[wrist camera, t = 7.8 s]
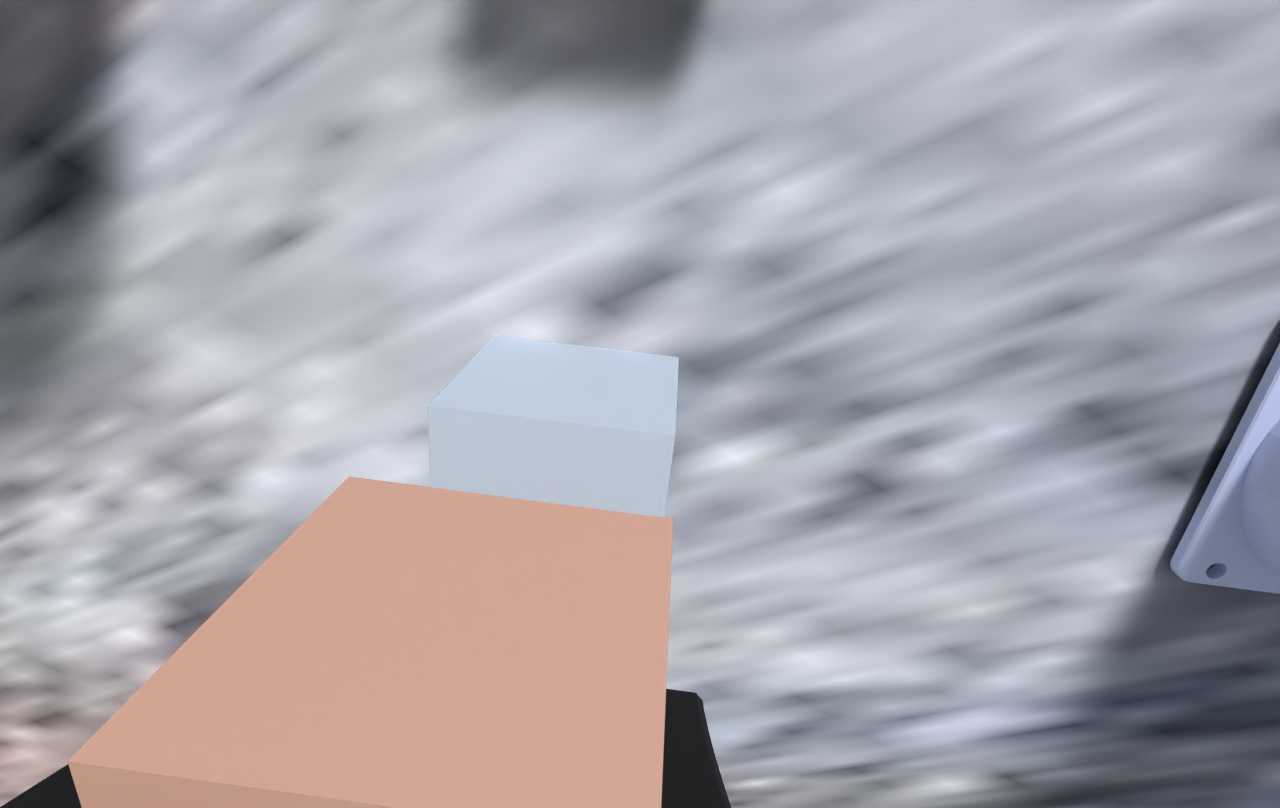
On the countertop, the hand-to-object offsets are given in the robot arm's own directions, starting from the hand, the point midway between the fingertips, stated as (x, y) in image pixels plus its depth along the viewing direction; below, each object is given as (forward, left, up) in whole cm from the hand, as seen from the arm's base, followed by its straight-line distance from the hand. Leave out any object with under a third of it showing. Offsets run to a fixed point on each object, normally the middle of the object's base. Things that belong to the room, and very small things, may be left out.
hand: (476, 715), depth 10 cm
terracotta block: (0, 0, -2) cm, 2 cm away
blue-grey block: (0, 0, -10) cm, 10 cm away
